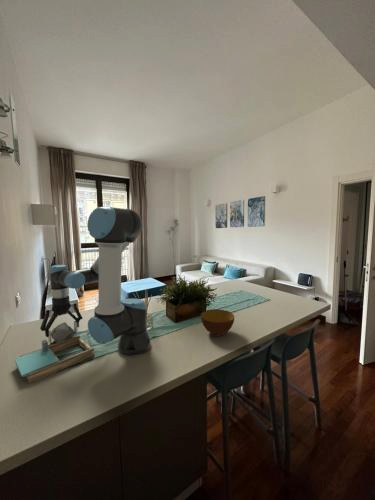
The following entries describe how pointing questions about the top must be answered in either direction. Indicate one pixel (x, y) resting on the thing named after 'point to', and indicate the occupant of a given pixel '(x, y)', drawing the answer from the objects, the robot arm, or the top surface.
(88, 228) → the robot arm
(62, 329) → the stone
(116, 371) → the top surface
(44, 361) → the lid
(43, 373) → the wooden box
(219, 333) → the bowl
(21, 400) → the top surface
